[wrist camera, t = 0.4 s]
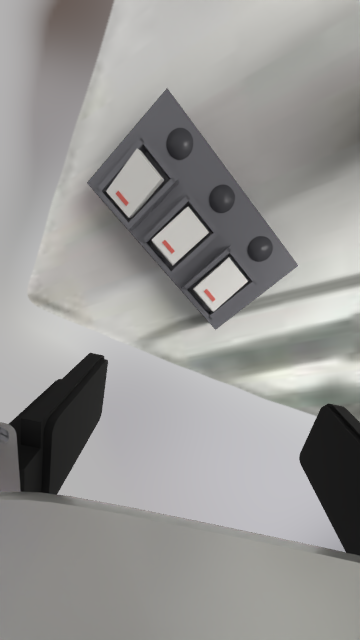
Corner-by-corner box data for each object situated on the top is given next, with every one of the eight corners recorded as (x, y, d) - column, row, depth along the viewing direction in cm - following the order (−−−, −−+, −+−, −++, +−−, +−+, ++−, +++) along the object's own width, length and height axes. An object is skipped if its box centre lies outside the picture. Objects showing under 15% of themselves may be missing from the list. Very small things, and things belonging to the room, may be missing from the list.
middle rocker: (186, 209, 28) (188, 205, 27) (207, 234, 29) (209, 232, 28) (151, 241, 29) (151, 239, 27) (172, 265, 29) (173, 264, 28)
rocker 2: (226, 258, 30) (229, 257, 29) (244, 281, 30) (248, 281, 29) (192, 288, 30) (193, 288, 29) (211, 310, 31) (213, 311, 29)
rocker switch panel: (170, 109, 29) (165, 77, 24) (286, 264, 34) (303, 266, 28) (99, 191, 33) (80, 178, 27) (213, 321, 37) (216, 333, 32)
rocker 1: (141, 151, 26) (136, 148, 25) (164, 180, 27) (161, 178, 25) (110, 192, 29) (105, 191, 27) (132, 217, 29) (128, 217, 28)
